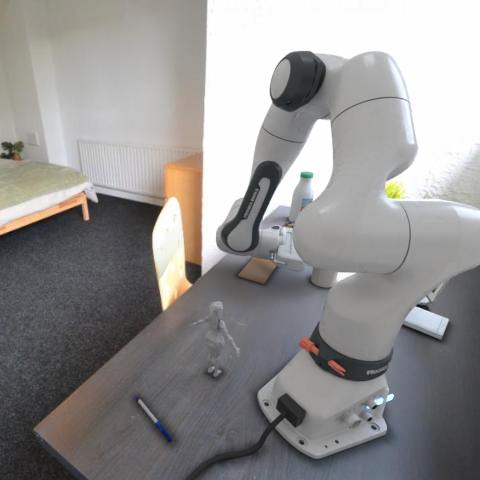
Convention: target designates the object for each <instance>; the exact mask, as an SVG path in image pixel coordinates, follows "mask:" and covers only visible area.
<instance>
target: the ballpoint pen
mask: <svg viewBox="0 0 480 480" xmlns="http://www.w3.org/2000/svg"><path fill="white" fill-rule="evenodd" d="M135 399H136V401H137V403H138V404H139V405H140V406H141V408H142V409H143V411H144V412H145V413H146V415H148V417H149V418H150V419H151V421H153V423H154V424H155V426H156V427H157V428H158V429H159V431H160V432H161V433H162V435H163V436H164V437H165V438H166V440H168V441H169V442H170V443H172V441H173V437H171V435H170V433H169V432H168V431H167V430H166V428H165V427H164V426H163V425H162V423H161V422H160V421H159V420H158V419H157V418H156V417H155V415H154V414H153V413H152V412H151V411H150V409H149V407H148V406H147V405H146V404H145V403H144V402H143V400H142V399H141V398H139V396H137V397H136V398H135Z"/></svg>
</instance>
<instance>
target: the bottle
mask: <svg viewBox="0 0 480 480" xmlns="http://www.w3.org/2000/svg"><path fill="white" fill-rule="evenodd" d="M338 274H339V272H335V271H330V270H325V269H320V268H316V267H312V271H311V274H310V275H311V276H310V281H311V283H312V284H314V285H315V286H317V287H321V288H331V287H332V286H333V285H334V284H336V283H337V278H338Z"/></svg>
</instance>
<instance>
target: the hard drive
mask: <svg viewBox="0 0 480 480" xmlns="http://www.w3.org/2000/svg"><path fill="white" fill-rule="evenodd" d="M449 322H450V319H449V318H447V317H444V316H442V315H439V314H436V313H434V312H431V311H429V310H426V309H424V308H421V307H418V306H417V305H416V306H415V307H414V308H413V309H412V311H411V312H410V313H409V314H408V316H407V317H406V319H405V320H404V322H403V324H402V326H405V327H408V328H411V329H413V330H416V331H418V332H421V333H423V334H424V335H425V334H426V335H428V336H430V337H433V338H435V339H438V340H442V338H443V336H444V334H445V331H446V329H447V326H448V324H449Z"/></svg>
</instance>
